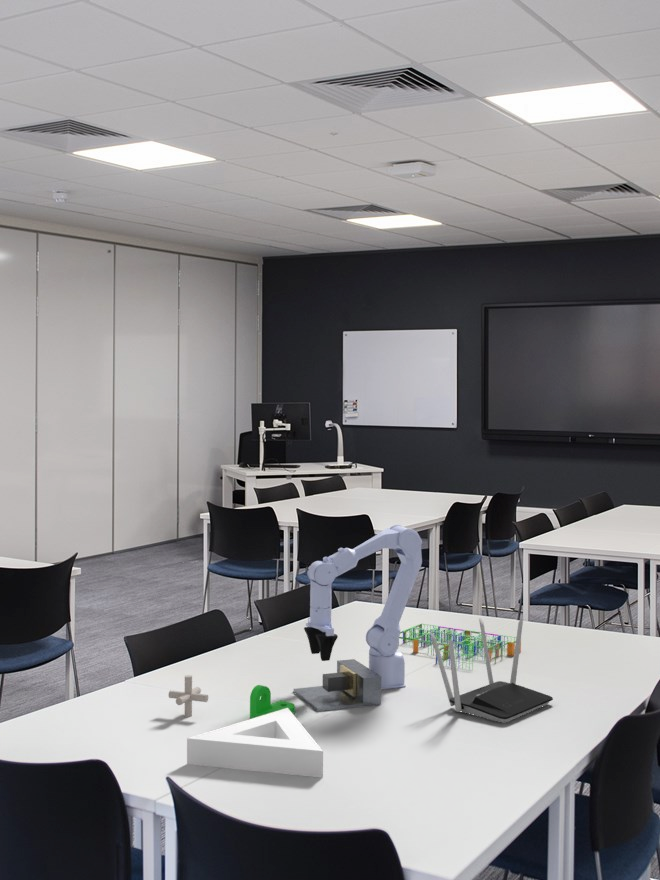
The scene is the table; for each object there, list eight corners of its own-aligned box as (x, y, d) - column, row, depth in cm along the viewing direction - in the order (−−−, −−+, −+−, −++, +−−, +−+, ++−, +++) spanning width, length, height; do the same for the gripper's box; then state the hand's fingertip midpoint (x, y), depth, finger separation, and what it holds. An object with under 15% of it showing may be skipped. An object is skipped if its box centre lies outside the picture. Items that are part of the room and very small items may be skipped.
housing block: (353, 686, 273) (354, 659, 273) (381, 705, 257) (381, 676, 256) (293, 692, 267) (293, 664, 267) (317, 712, 250) (317, 682, 250)
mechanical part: (268, 724, 241) (269, 692, 241) (249, 719, 245) (250, 687, 244) (299, 712, 251) (299, 681, 250) (280, 708, 254) (281, 677, 254)
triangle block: (322, 781, 207) (323, 751, 207) (197, 794, 199) (198, 763, 199) (287, 734, 236) (287, 707, 235) (177, 744, 228) (177, 716, 228)
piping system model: (521, 652, 313) (522, 637, 313) (483, 673, 288) (483, 657, 288) (422, 637, 332) (422, 623, 332) (378, 656, 307) (378, 640, 307)
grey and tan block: (358, 685, 269) (358, 663, 269) (372, 694, 260) (372, 672, 260) (319, 689, 265) (319, 667, 264) (331, 699, 256) (331, 676, 256)
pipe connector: (215, 712, 249) (215, 672, 249) (197, 724, 240) (197, 683, 239) (179, 708, 253) (179, 669, 252) (160, 720, 243) (160, 679, 243)
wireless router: (493, 732, 237) (494, 648, 236) (415, 711, 252) (416, 632, 251) (564, 701, 261) (565, 625, 261) (490, 683, 277) (491, 612, 276)
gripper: (297, 602, 272) (297, 651, 273) (316, 613, 259) (315, 664, 259) (321, 600, 275) (321, 649, 276) (341, 611, 261) (340, 662, 262)
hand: (320, 656), depth 268 cm, fingers open, 7 cm apart
